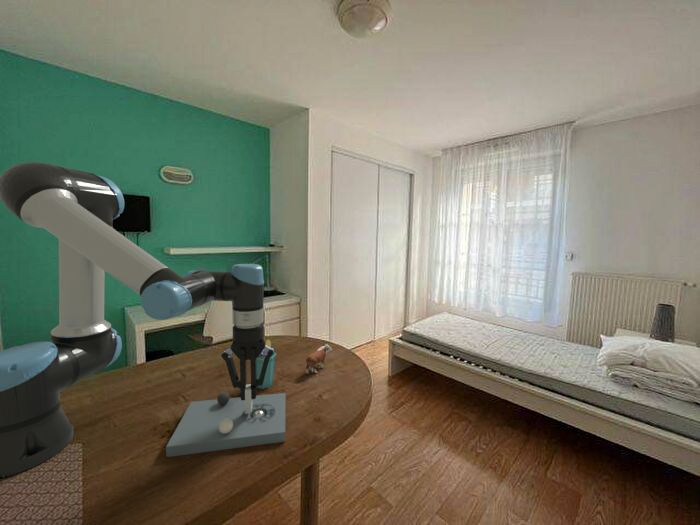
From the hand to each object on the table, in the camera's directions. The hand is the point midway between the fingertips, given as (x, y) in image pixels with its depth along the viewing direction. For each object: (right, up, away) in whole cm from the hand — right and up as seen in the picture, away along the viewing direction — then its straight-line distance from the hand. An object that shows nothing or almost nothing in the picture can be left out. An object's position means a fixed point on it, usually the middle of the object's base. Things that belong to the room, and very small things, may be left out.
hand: (248, 410), depth 74 cm
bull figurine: (+15, -1, +31) cm, 35 cm away
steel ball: (+2, -2, +1) cm, 3 cm away
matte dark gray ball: (-9, +1, +4) cm, 10 cm away
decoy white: (-3, 0, -7) cm, 8 cm away
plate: (-4, -4, 0) cm, 5 cm away
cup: (-2, -2, +18) cm, 19 cm away
